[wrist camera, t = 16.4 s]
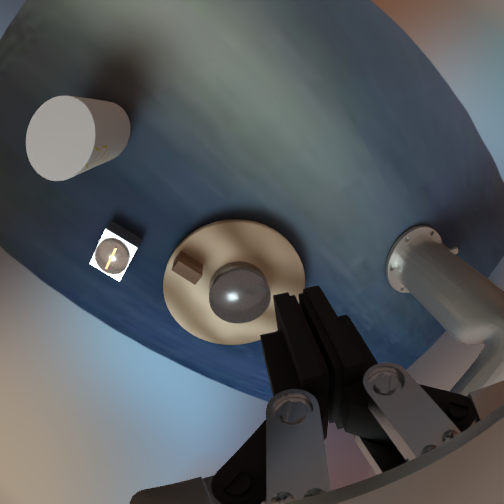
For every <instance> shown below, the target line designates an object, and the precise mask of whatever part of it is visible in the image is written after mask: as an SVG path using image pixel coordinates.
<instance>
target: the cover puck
mask: <svg viewBox="0 0 504 504" xmlns="http://www.w3.org/2000/svg"><path fill="white" fill-rule="evenodd" d="M270 299H271V293H270V289H269V286H268V283H267V280H266V277H265V275H264V273H263V272H262V271H261V270H260V269H259V268H258V267H257V266H255V265H253V264H251V263H248V262H243V261H236V262H230V263H227V264H225V265H223V266H221V267H220V268H219V269H217V270H216V272H215V273H214V274H213V275H212V277H211V280H210V283H209V303H210V307H211V309H212V311H213V312H214V313H215V315H216V316H218V317H219V318H220V319H222V320H224V321H227V322H230V323H247V322H250V321H253V320H255V319H257V318H258V317H260V316H261V315H262V314H263V313H264V312H265V311H266V309H267V308H268V306H269V303H270Z"/></svg>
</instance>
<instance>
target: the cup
mask: <svg viewBox="0 0 504 504" xmlns="http://www.w3.org/2000/svg"><path fill="white" fill-rule="evenodd" d="M129 137H130V121H129V118H128V115H127V114H126V112H125V111H124V109H123V108H122V107H120V106H119V105H117V104H115V103H113V102H108V101H102V100H95V99H88V98H81V97H73V96H58V97H55V98H52V99H50V100H48V101H47V102H45V103H44V104H43V105H42V106H41V107H40V108H39V109H38V110H37V111H36V112H35V114H34V116H33V117H32V119H31V121H30V124H29V126H28V130H27V135H26V150H27V155H28V158H29V161H30V163H31V165H32V166H33V168H34V169H35V171H36V172H37V173H38V174H40V175H41V176H42V177H44V178H46V179H48V180H52V181H63V180H67V179H69V178H71V177H73V176H76V175H78V174H80V173H82V172H84V171H86V170H89V169H91V168H93V167H96V166H98V165H100V164H103V163H105V162H107V161H110V160H112V159H114V158H115V157H117V156H118V155H119V154H120V153H121V152H122V151H123V150H124V148H125V147H126V145H127V143H128V140H129Z"/></svg>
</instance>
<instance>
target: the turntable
mask: <svg viewBox="0 0 504 504" xmlns="http://www.w3.org/2000/svg"><path fill="white" fill-rule="evenodd" d="M236 261H243V262H248V263H251V264H253V265H255V266H257V267H258V268H259V269H260V270H261V271H262V272H263V273H264V275H265V277H266V280H267V283H268V286H269V289H270V293H271V299H270V303H269V306H268V308H267V309H266V311H265V312H264V313H263V314H262V315H261V316H260V317H258V318H257V319H255V320H253V321H250V322H247V323H230V322H227V321H224V320H222V319H220V318H219V317H218V316H216V315H215V313H214V312H213V311H212V309H211V307H210V303H209V283H210V280H211V277H212V275H213V274H214V273H215V272H216V270H217V269H219V268H220V267H221V266H223V265H225V264H227V263H230V262H236ZM303 289H305V273H304V269H303V265H302V262H301V260H300V257H299V256H298V254H297V253H296V251H295V249H294V248H293V246H292V245H291V244H290V242H289V241H288V240H287V239H286V238H285V237H284V236H283V235H282V234H280V233H279V232H277V231H276V230H274V229H273V228H271V227H269V226H267V225H265V224H262V223H259V222H256V221H251V220H245V219H228V220H221V221H216V222H213V223H210V224H207V225H205V226H203V227H201V228H199V229H197V230H195V231H194V232H192V233H191V234H189V235H188V236H187V237H186V238H184V239H183V240H182V241H181V242H180V244H179V245H178V246H177V247H176V248H175V250H174V252H173V253H172V255H171V257H170V259H169V261H168V264H167V267H166V271H165V275H164V282H163V290H164V297H165V301H166V304H167V307H168V309H169V311H170V312H171V314H172V316H173V317H174V318H175V320H176V321H177V322H178V323H179V324H180V325H181V326H182V327H183V328H184V329H185V330H187V331H188V332H189V333H191V334H193V335H194V336H196V337H198V338H201V339H203V340H206V341H209V342H213V343H217V344H226V345H237V344H245V343H250V342H254V341H257V340H260V339H261V338H260V335H262V334H267V333H272V332H276V331H277V330H278V329H277V322H276V315H275V307H274V300H273V295H277V294H282V293H287V292H288V293H289V295H290V296H292V295H295V296H296V298H297V301H298V303H299V294H301V293H303Z"/></svg>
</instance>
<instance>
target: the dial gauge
mask: <svg viewBox="0 0 504 504" xmlns="http://www.w3.org/2000/svg"><path fill="white" fill-rule="evenodd" d="M141 241H142V239H141V238H140V237H138V236H136V235H135V234H133V233H131V232H130V231H128V230H127V229H125V228H123V227H122V226H120V225H118V224H117V223H115V222H113V221H112V222H111V223H110V224H109V225H108V226H107V227H106V228H105V231H104V233H103V235H102V237H101V239H100V241H99V243H98V246H97V248H96V250H95V252H94V254H93V257H92V259H91V261H90V264H91V265H92V266H94V267H95V268H97V269H99V270H100V271H102V272H104V273H105V274H107V275H109V276H111V277H112V278H114V279H116V280H117V281H119V282H120V280H121V278H122V276H123V274H124V272H125V271H126V269H127V267H128V265H129V263H130V261H131V259H132V258H133V256H134V254H135V252H136V250H137V248H138V247H139V245H140V243H141Z"/></svg>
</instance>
